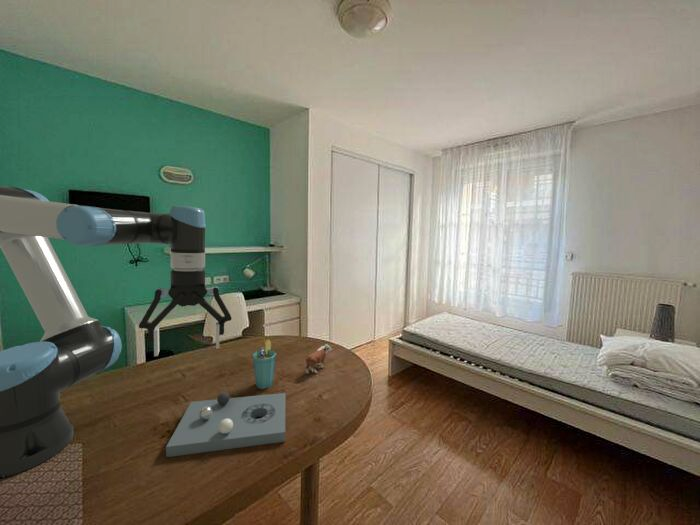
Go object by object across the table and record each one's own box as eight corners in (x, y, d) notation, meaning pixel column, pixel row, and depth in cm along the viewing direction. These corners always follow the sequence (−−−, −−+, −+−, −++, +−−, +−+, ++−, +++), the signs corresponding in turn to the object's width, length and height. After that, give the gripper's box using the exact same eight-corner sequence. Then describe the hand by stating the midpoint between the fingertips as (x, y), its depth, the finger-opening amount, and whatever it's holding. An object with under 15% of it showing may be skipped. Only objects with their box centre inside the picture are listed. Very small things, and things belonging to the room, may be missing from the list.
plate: (166, 457, 62) (166, 446, 62) (191, 410, 79) (191, 401, 79) (285, 441, 68) (285, 432, 68) (285, 400, 85) (285, 392, 84)
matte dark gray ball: (216, 407, 76) (215, 396, 76) (218, 400, 79) (218, 390, 79) (228, 406, 77) (228, 395, 77) (230, 399, 80) (230, 389, 80)
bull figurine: (333, 363, 110) (333, 343, 109) (311, 377, 98) (311, 355, 98) (324, 360, 112) (324, 341, 111) (301, 374, 101) (302, 352, 100)
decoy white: (217, 437, 65) (217, 425, 65) (220, 428, 68) (220, 416, 68) (231, 436, 66) (231, 423, 66) (234, 426, 69) (234, 414, 69)
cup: (274, 397, 86) (274, 350, 85) (248, 399, 85) (247, 352, 83) (277, 374, 100) (277, 334, 98) (254, 376, 98) (254, 335, 97)
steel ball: (197, 423, 70) (196, 411, 69) (201, 415, 73) (200, 404, 73) (211, 422, 70) (210, 410, 70) (214, 414, 74) (214, 402, 73)
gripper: (121, 271, 61) (124, 364, 63) (242, 270, 72) (241, 348, 74) (129, 267, 67) (131, 351, 69) (239, 266, 79) (238, 338, 81)
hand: (188, 350), depth 72 cm, fingers open, 13 cm apart
